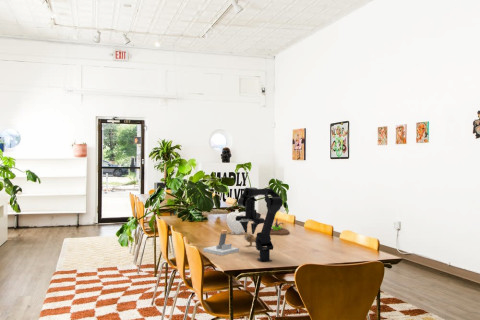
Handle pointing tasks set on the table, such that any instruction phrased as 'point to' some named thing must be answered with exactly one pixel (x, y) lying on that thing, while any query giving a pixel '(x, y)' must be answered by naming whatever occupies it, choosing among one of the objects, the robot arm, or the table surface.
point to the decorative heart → (235, 222)
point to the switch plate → (221, 249)
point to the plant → (279, 230)
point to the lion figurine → (250, 238)
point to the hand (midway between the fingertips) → (249, 233)
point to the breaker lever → (222, 238)
